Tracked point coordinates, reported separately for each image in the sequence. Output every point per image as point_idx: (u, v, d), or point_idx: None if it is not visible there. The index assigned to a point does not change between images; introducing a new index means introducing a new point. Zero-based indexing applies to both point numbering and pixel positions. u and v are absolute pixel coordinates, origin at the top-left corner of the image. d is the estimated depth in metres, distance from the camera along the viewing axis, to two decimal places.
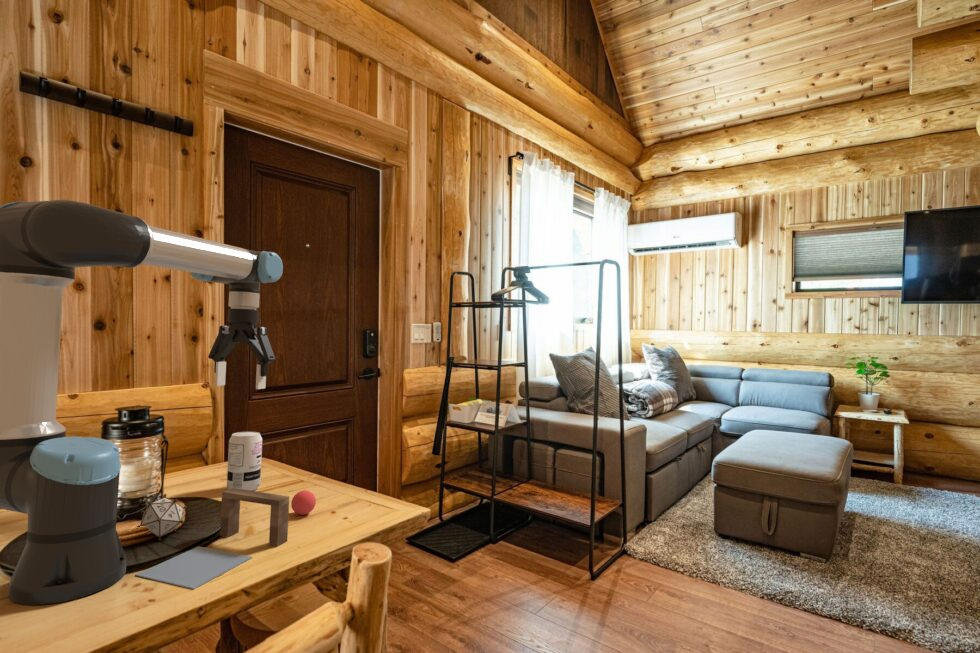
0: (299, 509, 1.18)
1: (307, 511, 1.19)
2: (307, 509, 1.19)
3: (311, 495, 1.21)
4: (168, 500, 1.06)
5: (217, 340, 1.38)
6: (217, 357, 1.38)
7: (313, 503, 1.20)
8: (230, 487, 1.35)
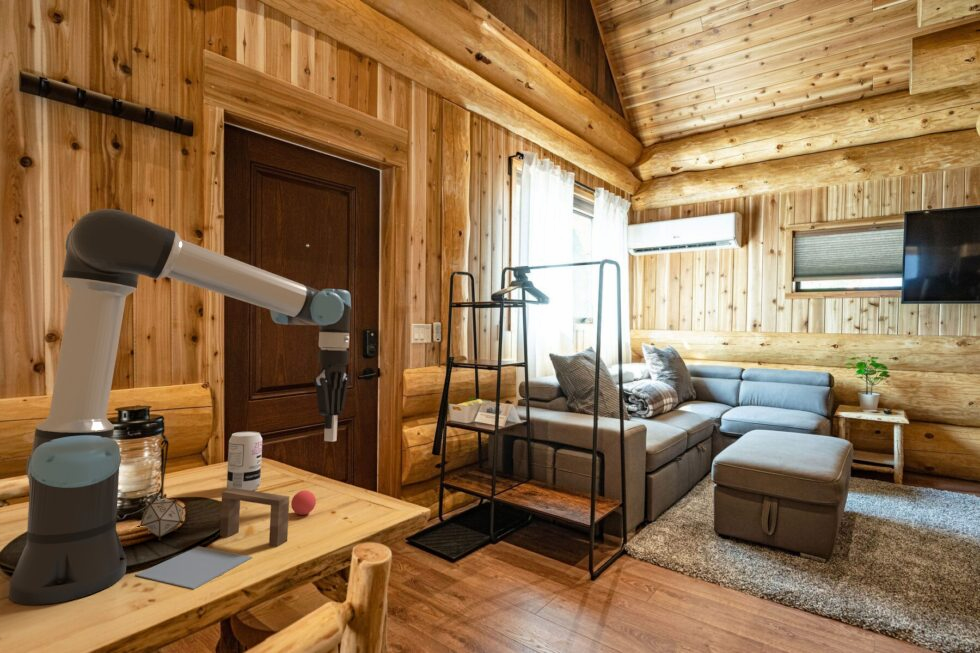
0: (299, 509, 1.18)
1: (307, 511, 1.19)
2: (307, 509, 1.19)
3: (311, 495, 1.21)
4: (168, 500, 1.06)
5: None
6: None
7: (313, 503, 1.20)
8: (230, 487, 1.35)
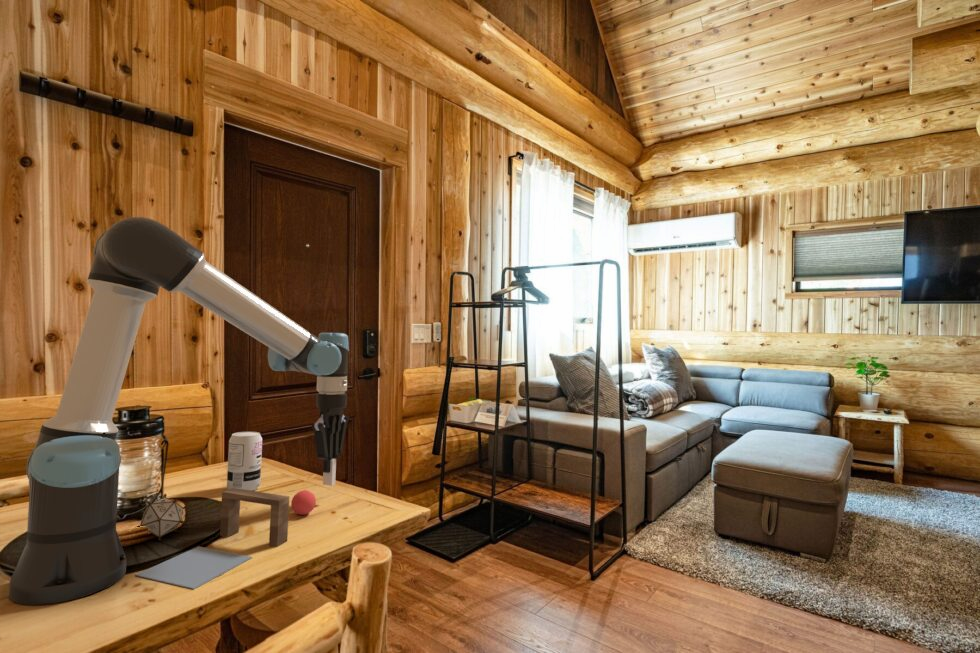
0: (299, 509, 1.18)
1: (307, 511, 1.19)
2: (307, 509, 1.19)
3: (311, 495, 1.21)
4: (168, 500, 1.06)
5: None
6: None
7: (313, 503, 1.20)
8: (230, 487, 1.35)
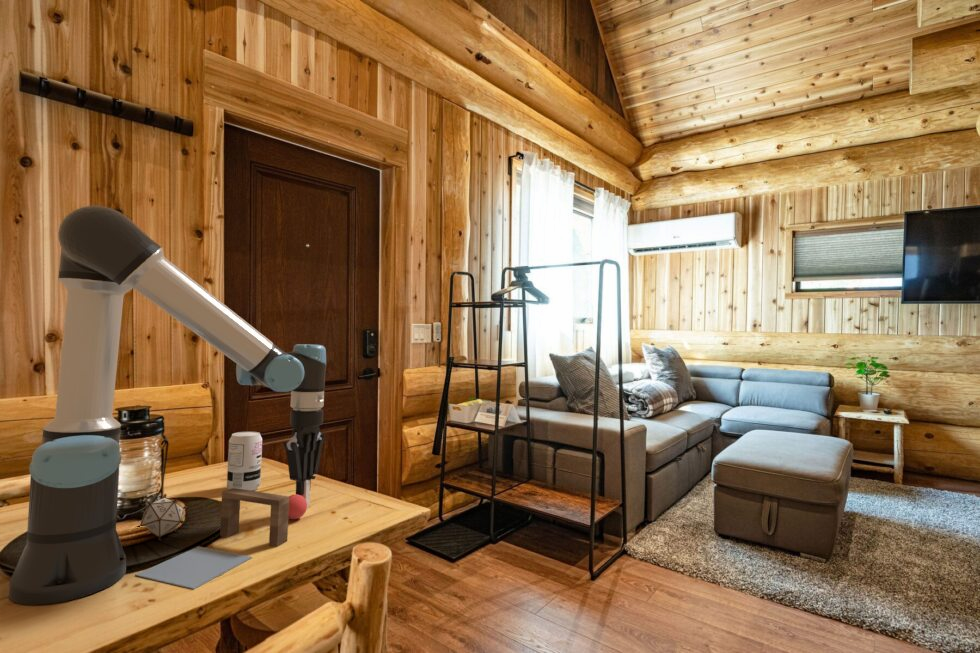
0: None
1: (302, 515, 1.17)
2: (301, 515, 1.17)
3: (298, 503, 1.16)
4: (168, 500, 1.06)
5: None
6: None
7: (304, 508, 1.17)
8: (230, 487, 1.35)
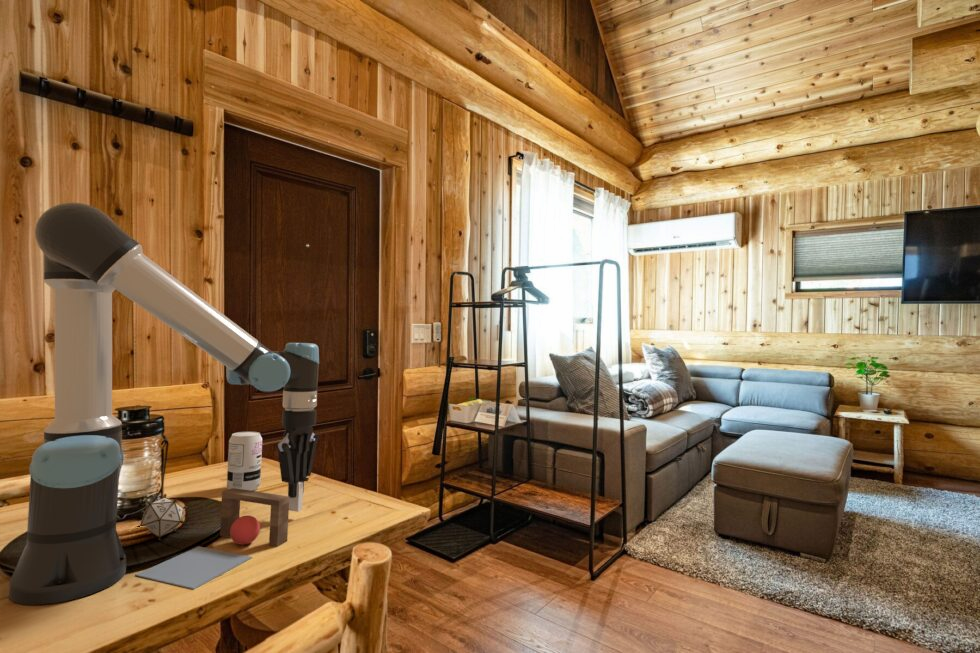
0: (239, 538, 1.00)
1: (248, 540, 1.01)
2: (248, 538, 1.01)
3: (254, 521, 1.03)
4: (168, 500, 1.06)
5: None
6: None
7: (256, 531, 1.02)
8: (230, 487, 1.35)
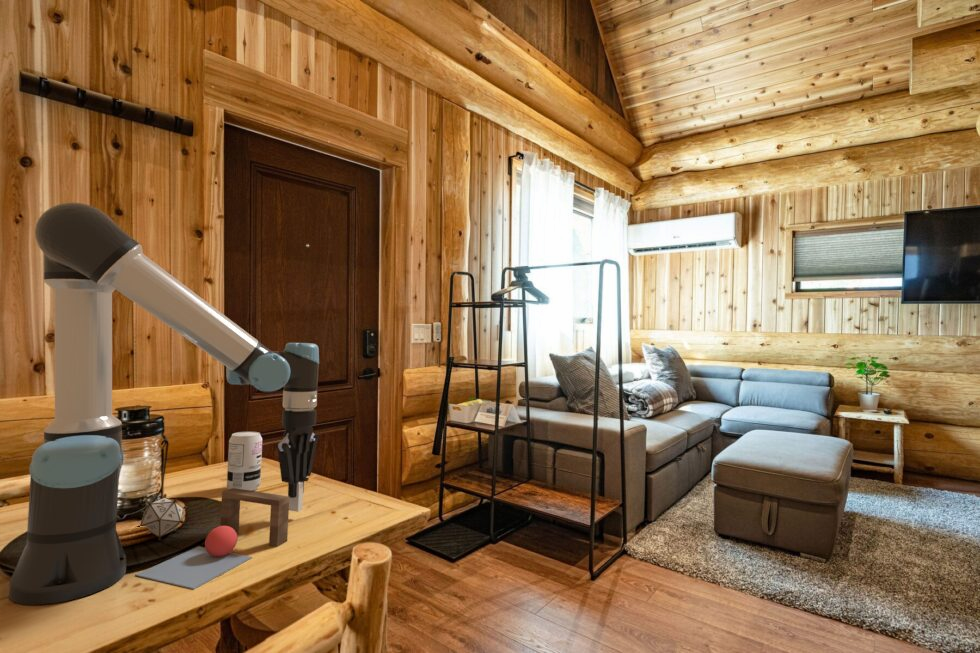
0: None
1: None
2: (236, 542, 0.98)
3: (223, 551, 0.95)
4: (168, 500, 1.06)
5: None
6: None
7: (232, 543, 0.96)
8: (230, 487, 1.35)
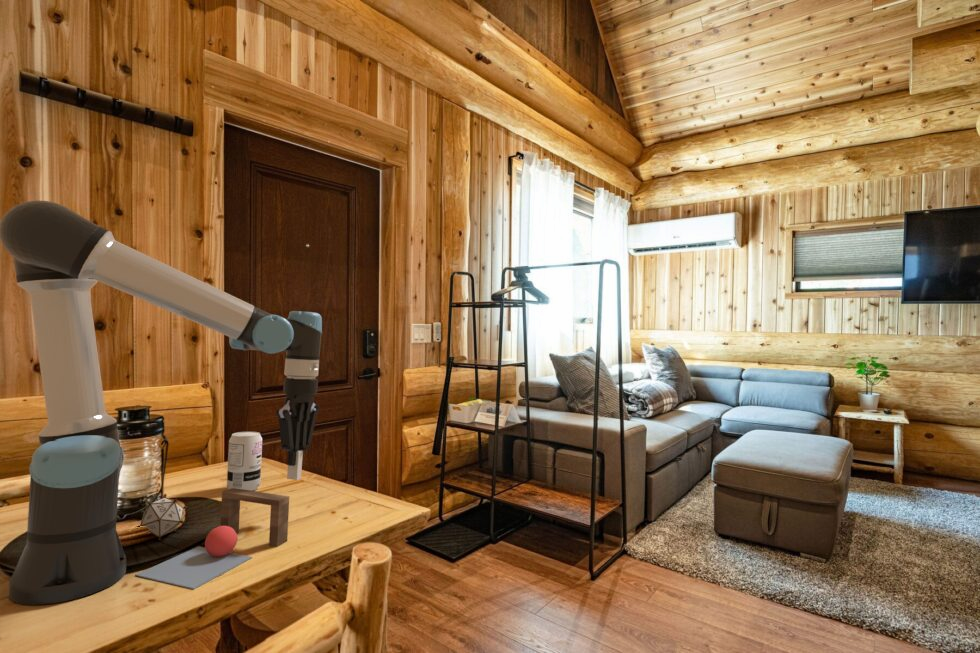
0: None
1: None
2: (236, 542, 0.98)
3: (222, 551, 0.95)
4: (168, 500, 1.06)
5: None
6: None
7: (232, 543, 0.96)
8: (230, 487, 1.35)
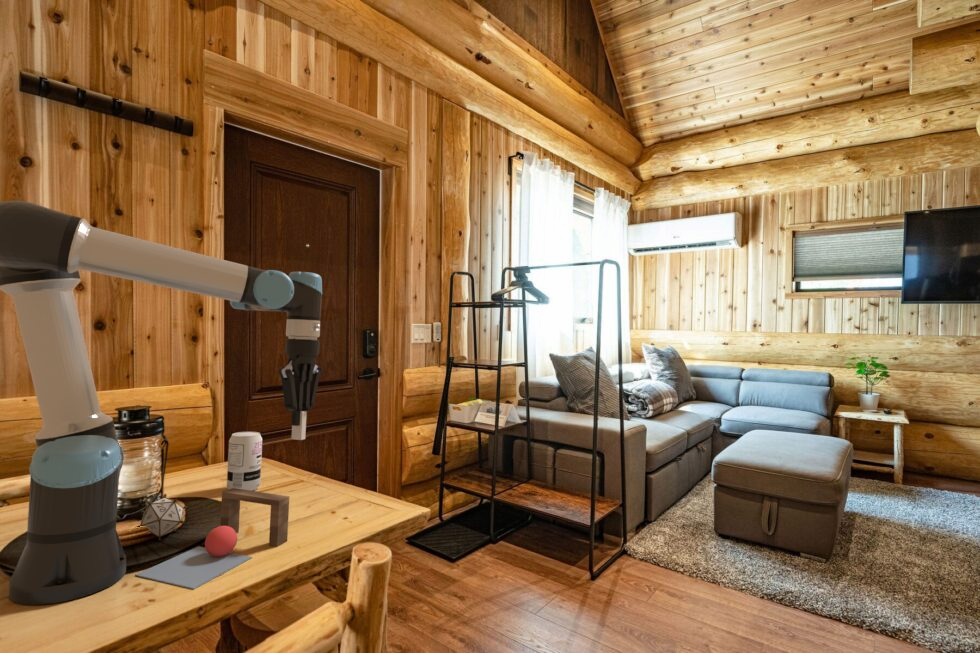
0: None
1: None
2: (236, 542, 0.98)
3: (222, 551, 0.95)
4: (168, 500, 1.06)
5: None
6: None
7: (232, 543, 0.96)
8: (230, 487, 1.35)
